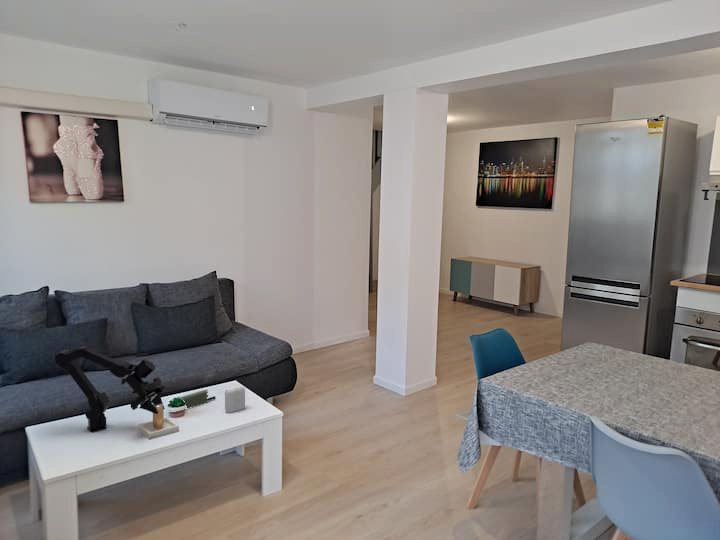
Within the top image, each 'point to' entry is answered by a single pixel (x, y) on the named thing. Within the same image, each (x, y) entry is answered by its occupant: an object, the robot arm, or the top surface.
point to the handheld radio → (196, 398)
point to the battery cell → (158, 416)
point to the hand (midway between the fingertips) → (160, 411)
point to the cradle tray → (153, 432)
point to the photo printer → (234, 398)
